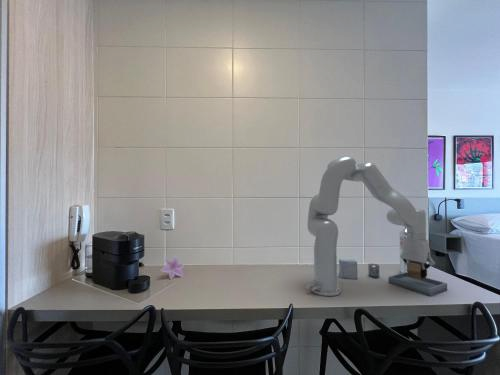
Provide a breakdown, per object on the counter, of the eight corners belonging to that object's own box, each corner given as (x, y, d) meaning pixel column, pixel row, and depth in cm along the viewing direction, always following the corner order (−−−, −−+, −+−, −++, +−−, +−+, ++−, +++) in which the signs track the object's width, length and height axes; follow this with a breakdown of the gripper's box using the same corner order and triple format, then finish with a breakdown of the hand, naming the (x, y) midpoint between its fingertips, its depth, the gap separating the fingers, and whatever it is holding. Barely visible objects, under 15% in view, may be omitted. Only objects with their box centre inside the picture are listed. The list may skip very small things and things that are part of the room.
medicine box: (354, 276, 130) (354, 259, 130) (357, 279, 126) (357, 261, 126) (338, 275, 131) (338, 258, 131) (341, 278, 127) (341, 261, 127)
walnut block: (419, 280, 113) (419, 264, 113) (408, 276, 117) (408, 261, 117) (425, 278, 115) (425, 262, 115) (414, 275, 119) (414, 260, 120)
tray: (430, 296, 105) (430, 289, 105) (388, 283, 120) (388, 276, 120) (447, 290, 111) (447, 283, 112) (405, 278, 127) (405, 272, 127)
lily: (156, 282, 125) (162, 267, 122) (159, 266, 135) (165, 252, 133) (180, 287, 129) (186, 272, 126) (181, 271, 139) (187, 257, 137)
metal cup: (375, 279, 126) (375, 267, 126) (366, 276, 130) (366, 264, 130) (381, 277, 128) (381, 265, 128) (372, 274, 133) (372, 263, 133)
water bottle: (400, 270, 140) (399, 224, 140) (414, 272, 136) (414, 225, 137) (399, 273, 134) (399, 226, 134) (415, 275, 130) (414, 227, 131)
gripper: (393, 234, 122) (393, 272, 122) (432, 239, 107) (433, 283, 107) (402, 232, 126) (402, 269, 125) (441, 238, 111) (442, 279, 110)
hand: (416, 275), depth 116 cm, fingers closed on walnut block, 5 cm apart
